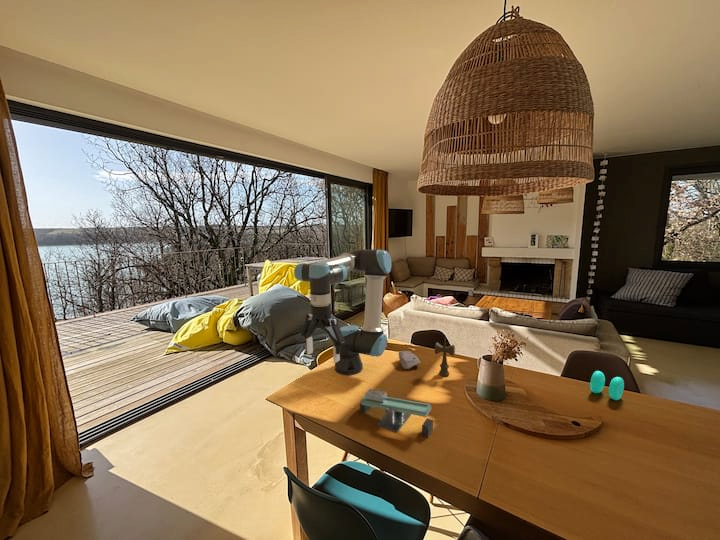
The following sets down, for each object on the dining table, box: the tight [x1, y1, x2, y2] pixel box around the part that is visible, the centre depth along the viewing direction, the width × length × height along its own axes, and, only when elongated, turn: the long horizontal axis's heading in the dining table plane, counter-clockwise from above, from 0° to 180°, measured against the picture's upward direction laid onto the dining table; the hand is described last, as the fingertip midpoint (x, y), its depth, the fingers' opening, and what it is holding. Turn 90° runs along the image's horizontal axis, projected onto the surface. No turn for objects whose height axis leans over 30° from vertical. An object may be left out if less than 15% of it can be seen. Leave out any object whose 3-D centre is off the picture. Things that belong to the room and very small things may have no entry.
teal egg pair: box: [589, 370, 625, 401], centre depth 134 cm, size 10×10×10 cm
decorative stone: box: [398, 350, 421, 370], centre depth 167 cm, size 13×10×6 cm
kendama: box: [434, 337, 456, 377], centre depth 154 cm, size 6×10×20 cm, turn 67°
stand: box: [359, 396, 434, 438], centre depth 119 cm, size 13×29×7 cm, turn 57°
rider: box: [365, 389, 388, 404], centre depth 122 cm, size 3×8×4 cm, turn 57°
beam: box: [360, 395, 433, 418], centre depth 118 cm, size 7×28×2 cm, turn 57°
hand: (323, 357), depth 117 cm, fingers open, 13 cm apart
